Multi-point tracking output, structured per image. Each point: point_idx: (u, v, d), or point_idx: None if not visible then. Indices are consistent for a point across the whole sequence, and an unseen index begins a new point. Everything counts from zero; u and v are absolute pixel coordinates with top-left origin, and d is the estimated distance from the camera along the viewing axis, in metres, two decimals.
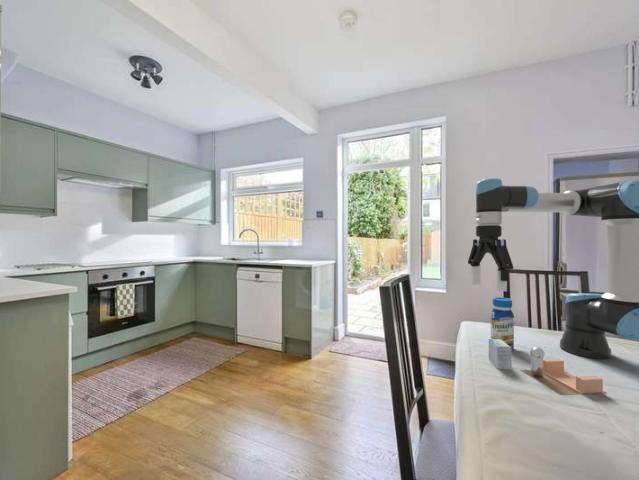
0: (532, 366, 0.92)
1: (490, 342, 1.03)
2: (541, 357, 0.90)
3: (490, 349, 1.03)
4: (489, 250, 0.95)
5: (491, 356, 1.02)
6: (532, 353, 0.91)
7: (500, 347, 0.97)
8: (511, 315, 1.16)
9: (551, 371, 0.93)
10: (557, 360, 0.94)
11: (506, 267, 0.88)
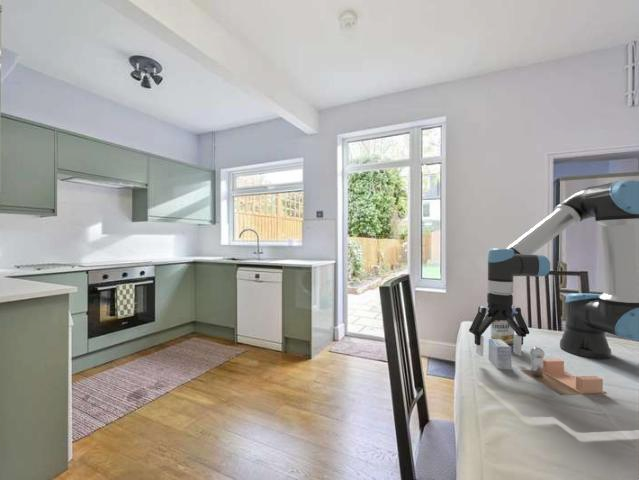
0: (532, 366, 0.92)
1: (490, 342, 1.03)
2: (541, 357, 0.90)
3: (490, 349, 1.03)
4: None
5: (491, 356, 1.02)
6: (532, 353, 0.91)
7: (500, 347, 0.97)
8: (511, 315, 1.16)
9: (551, 371, 0.93)
10: (557, 360, 0.94)
11: (469, 330, 1.01)
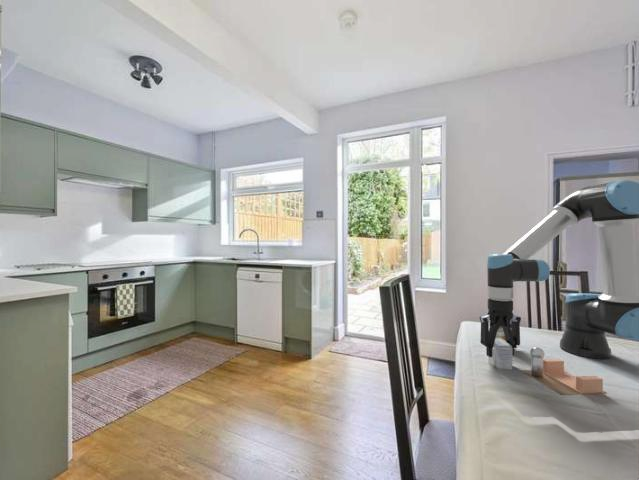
0: (532, 366, 0.92)
1: None
2: (541, 357, 0.90)
3: None
4: None
5: None
6: (532, 353, 0.91)
7: (501, 346, 0.97)
8: None
9: (551, 371, 0.93)
10: (557, 360, 0.94)
11: (481, 343, 1.01)
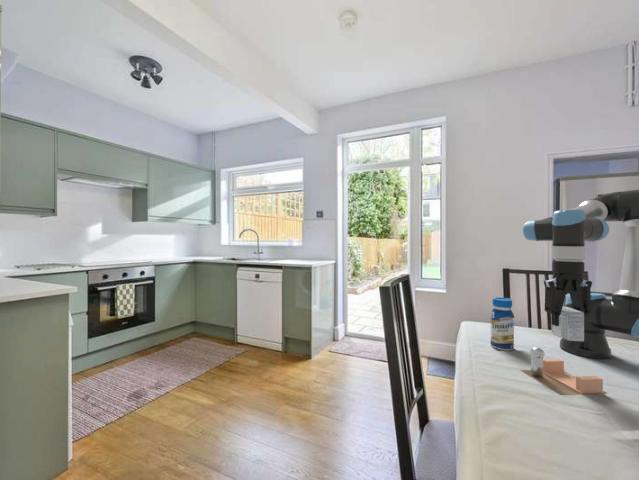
0: (532, 366, 0.92)
1: None
2: (541, 357, 0.90)
3: None
4: None
5: None
6: (532, 353, 0.91)
7: (572, 313, 0.85)
8: (511, 315, 1.16)
9: (551, 371, 0.93)
10: (557, 360, 0.94)
11: (545, 310, 0.89)
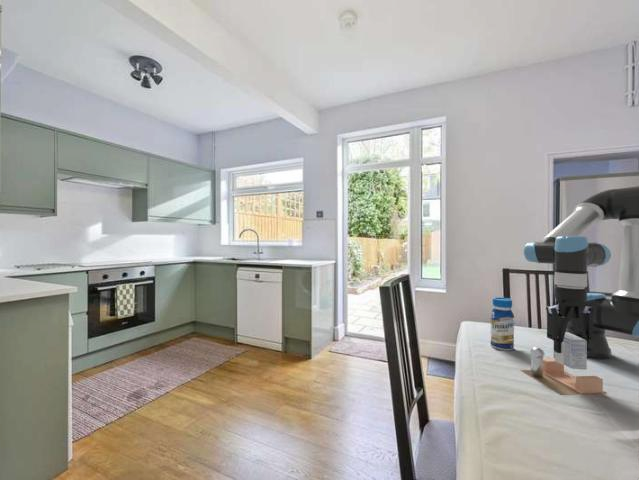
0: (532, 366, 0.92)
1: None
2: (541, 357, 0.90)
3: None
4: None
5: None
6: (532, 353, 0.91)
7: (574, 341, 0.84)
8: (511, 315, 1.16)
9: (551, 371, 0.93)
10: None
11: (547, 337, 0.89)
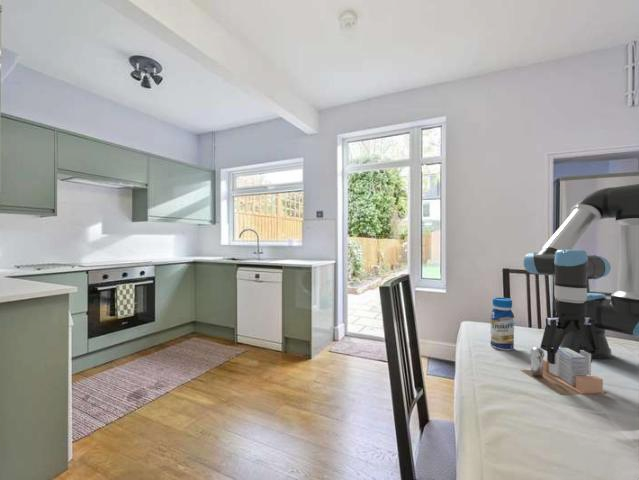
0: (532, 366, 0.92)
1: (557, 351, 0.91)
2: (541, 357, 0.90)
3: None
4: None
5: (559, 368, 0.89)
6: (532, 353, 0.91)
7: (575, 358, 0.84)
8: (511, 315, 1.16)
9: None
10: None
11: (541, 347, 0.89)
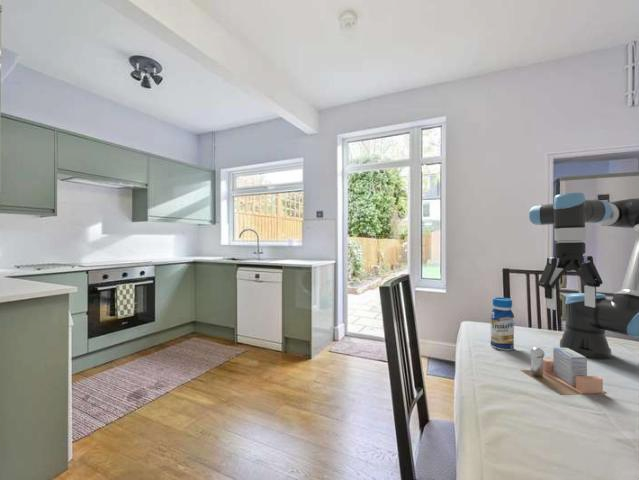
0: (532, 366, 0.92)
1: (557, 351, 0.91)
2: (541, 357, 0.90)
3: (557, 359, 0.90)
4: None
5: (559, 368, 0.89)
6: (532, 353, 0.91)
7: (575, 358, 0.84)
8: (511, 315, 1.16)
9: (551, 371, 0.93)
10: None
11: (539, 284, 0.93)
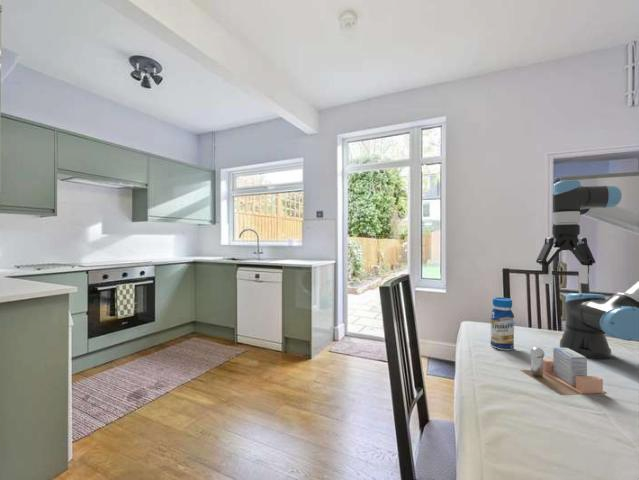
0: (532, 366, 0.92)
1: (557, 351, 0.91)
2: (541, 357, 0.90)
3: (557, 359, 0.90)
4: None
5: (559, 368, 0.89)
6: (532, 353, 0.91)
7: (575, 358, 0.84)
8: (511, 315, 1.16)
9: (551, 371, 0.93)
10: None
11: (537, 261, 1.04)
